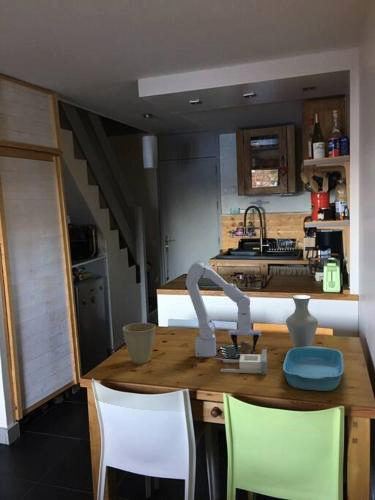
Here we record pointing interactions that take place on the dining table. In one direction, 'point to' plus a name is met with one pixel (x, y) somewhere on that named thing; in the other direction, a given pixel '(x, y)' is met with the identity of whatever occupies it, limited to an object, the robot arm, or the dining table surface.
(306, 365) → the casserole dish
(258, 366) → the sliding block
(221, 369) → the slide board
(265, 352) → the stop wall
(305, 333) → the vase
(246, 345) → the dowel
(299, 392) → the dining table surface
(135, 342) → the plant pot
